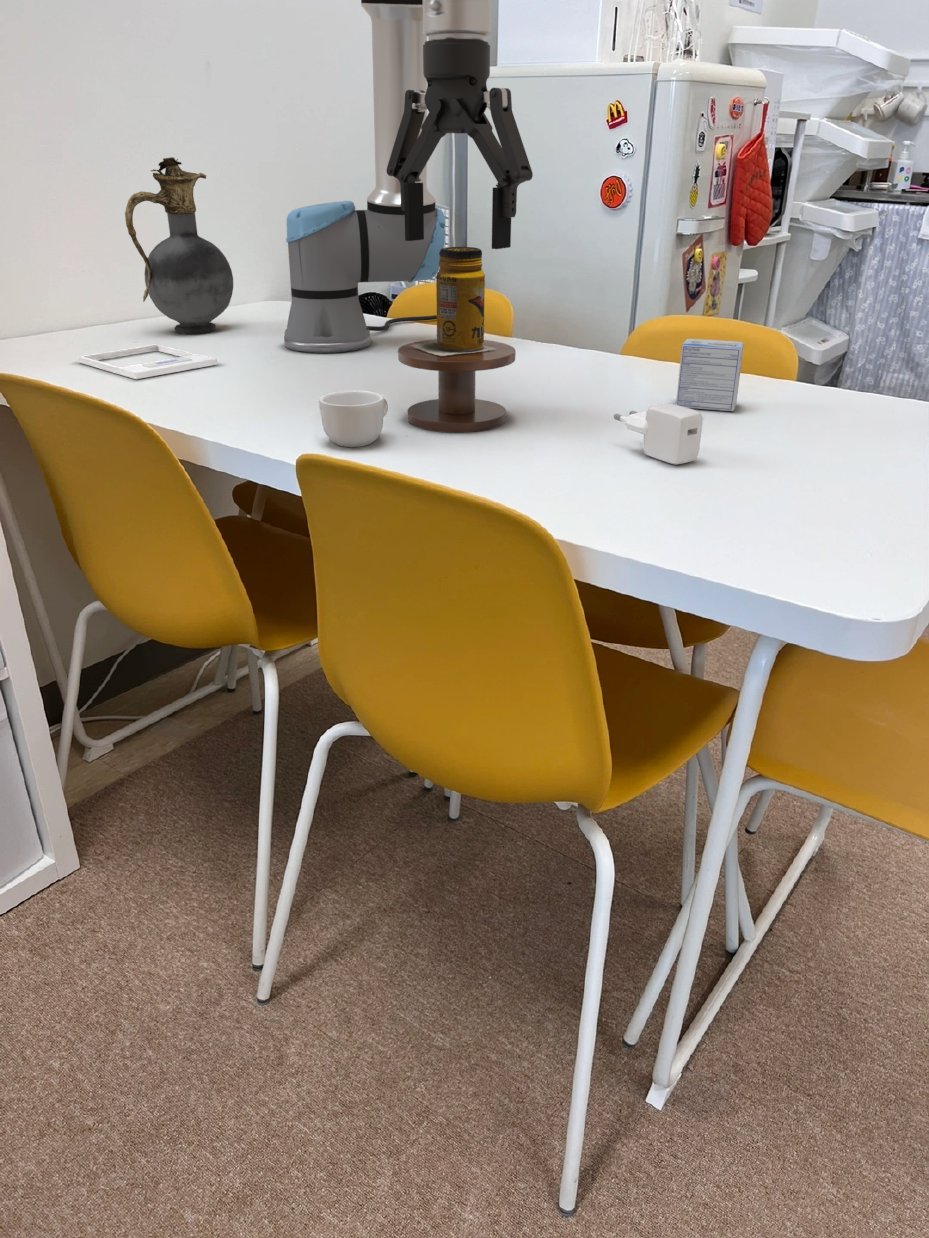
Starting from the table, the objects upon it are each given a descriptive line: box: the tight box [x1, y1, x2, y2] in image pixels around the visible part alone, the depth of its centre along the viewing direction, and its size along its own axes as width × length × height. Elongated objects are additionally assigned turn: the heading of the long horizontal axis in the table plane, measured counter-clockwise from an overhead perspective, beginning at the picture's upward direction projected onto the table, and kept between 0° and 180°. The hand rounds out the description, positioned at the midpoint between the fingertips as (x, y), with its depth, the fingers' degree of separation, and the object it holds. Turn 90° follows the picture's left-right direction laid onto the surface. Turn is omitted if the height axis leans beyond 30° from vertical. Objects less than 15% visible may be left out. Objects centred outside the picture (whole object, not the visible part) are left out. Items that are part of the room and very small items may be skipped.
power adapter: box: [613, 403, 704, 465], centre depth 109 cm, size 11×5×6 cm, turn 35°
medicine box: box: [675, 338, 745, 412], centre depth 128 cm, size 8×4×9 cm, turn 71°
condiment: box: [411, 246, 498, 356], centre depth 117 cm, size 7×8×12 cm
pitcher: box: [124, 156, 234, 335], centre depth 172 cm, size 11×19×30 cm, turn 139°
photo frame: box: [76, 343, 218, 380], centre depth 153 cm, size 15×1×18 cm
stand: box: [397, 338, 517, 434], centre depth 122 cm, size 15×15×9 cm
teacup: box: [318, 389, 389, 448], centre depth 113 cm, size 10×8×5 cm
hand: (456, 244), depth 114 cm, fingers open, 13 cm apart
